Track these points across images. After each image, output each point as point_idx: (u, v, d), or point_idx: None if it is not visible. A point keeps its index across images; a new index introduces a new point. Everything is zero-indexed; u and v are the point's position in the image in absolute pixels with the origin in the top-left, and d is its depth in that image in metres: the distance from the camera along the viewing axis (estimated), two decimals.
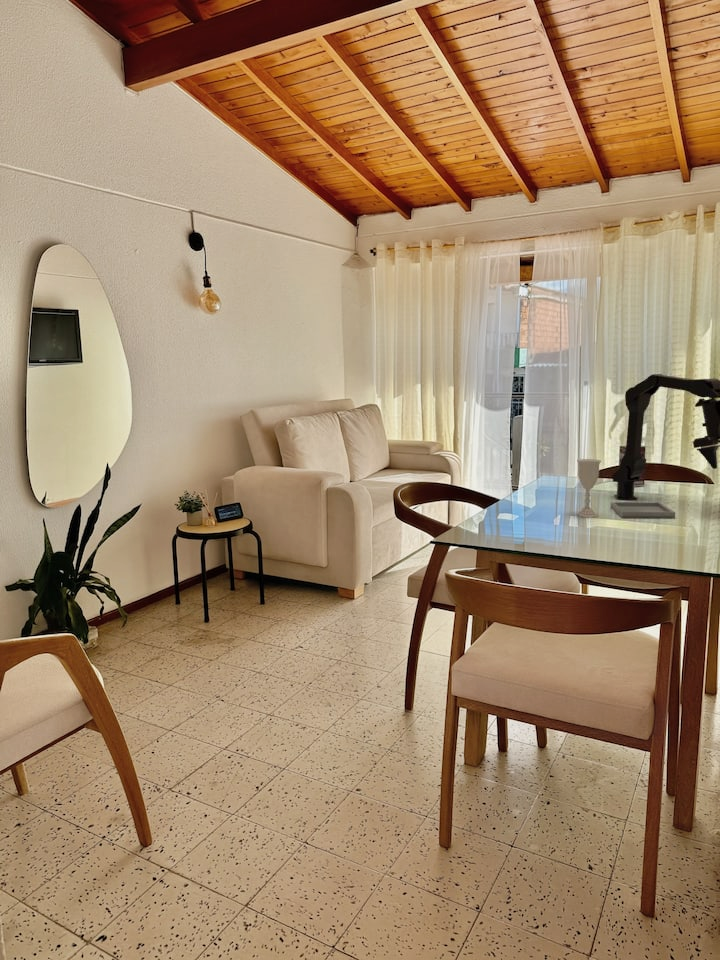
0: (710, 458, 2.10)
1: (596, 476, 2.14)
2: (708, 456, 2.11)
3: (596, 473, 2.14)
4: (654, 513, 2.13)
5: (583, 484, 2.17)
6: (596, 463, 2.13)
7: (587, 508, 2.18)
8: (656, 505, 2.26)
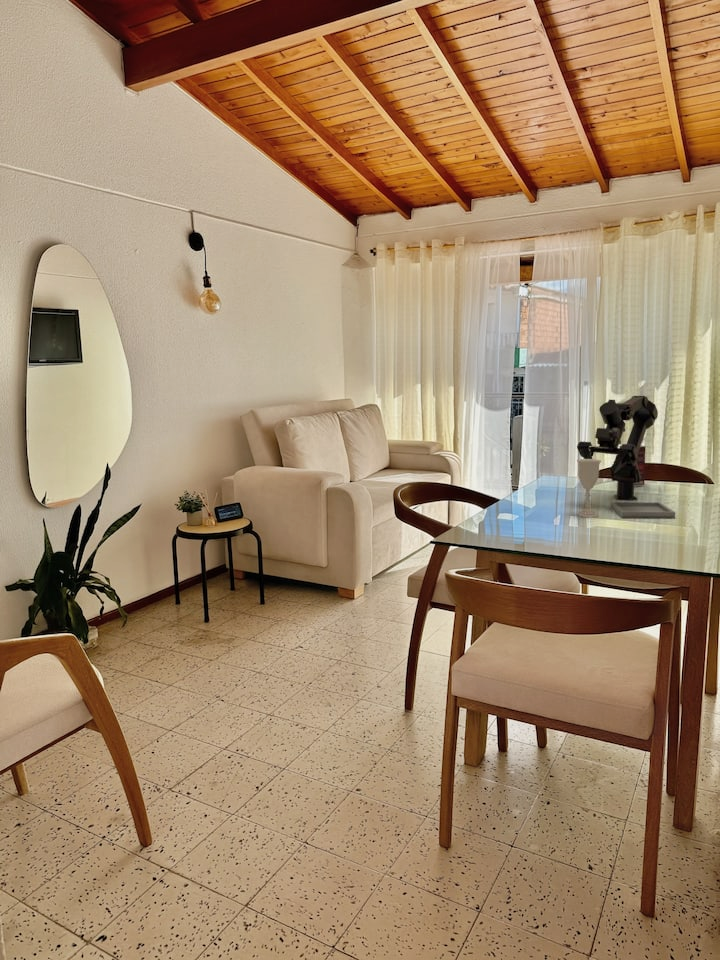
0: None
1: (596, 476, 2.14)
2: None
3: (596, 473, 2.14)
4: (654, 513, 2.13)
5: (583, 484, 2.17)
6: (596, 463, 2.13)
7: (587, 508, 2.18)
8: (656, 505, 2.26)
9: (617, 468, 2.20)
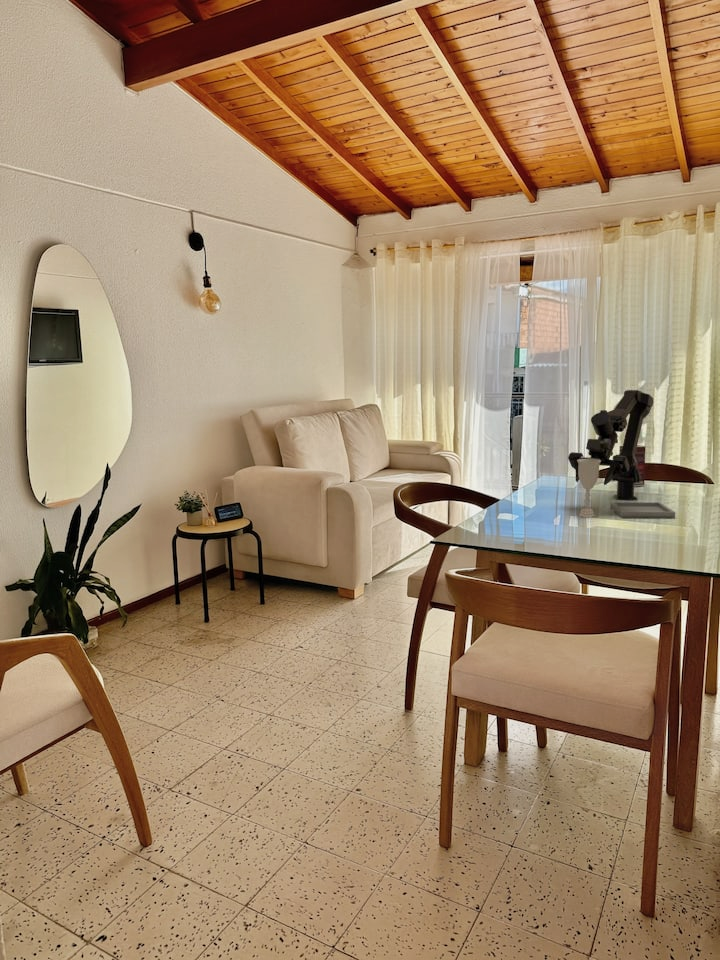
0: None
1: (596, 476, 2.14)
2: None
3: (596, 473, 2.14)
4: (654, 513, 2.13)
5: (583, 484, 2.17)
6: (596, 463, 2.13)
7: (587, 508, 2.18)
8: (656, 505, 2.26)
9: (608, 480, 2.16)
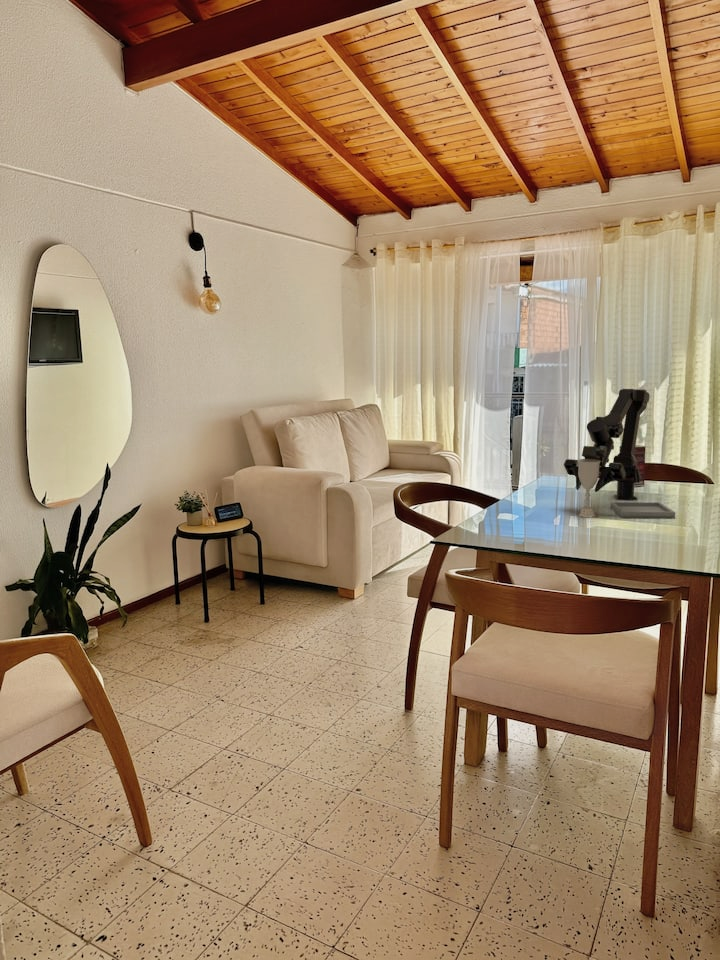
0: None
1: (596, 476, 2.14)
2: None
3: (596, 473, 2.14)
4: (654, 513, 2.13)
5: (583, 484, 2.16)
6: (596, 463, 2.13)
7: (587, 508, 2.18)
8: (656, 505, 2.26)
9: (599, 487, 2.15)
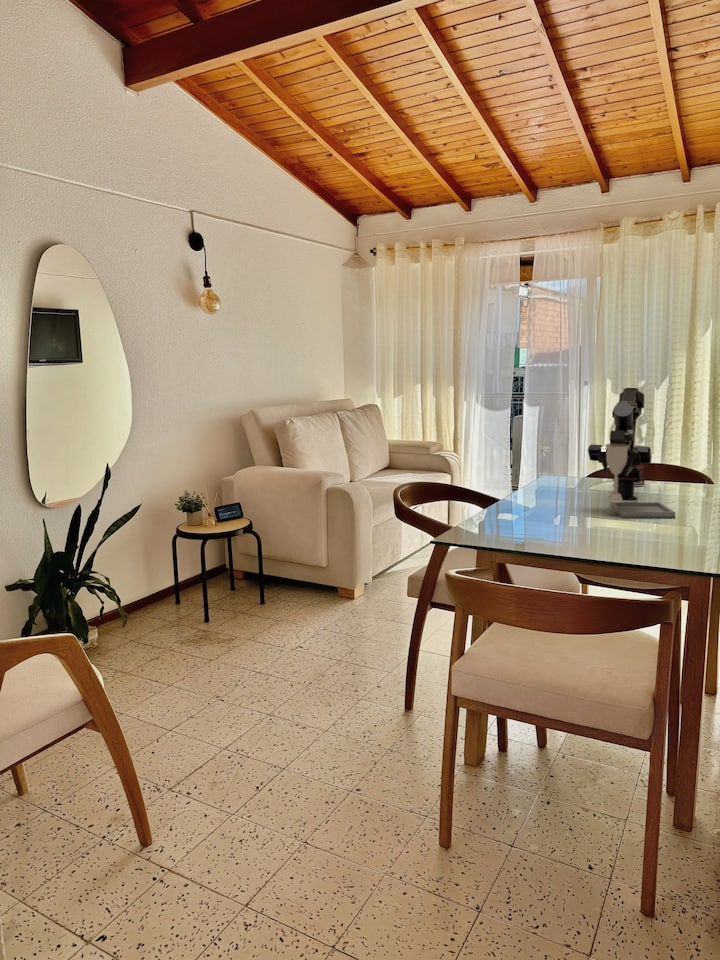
0: None
1: (625, 460, 2.13)
2: None
3: (626, 457, 2.13)
4: (654, 513, 2.13)
5: (612, 469, 2.14)
6: (626, 447, 2.12)
7: (616, 493, 2.16)
8: (656, 505, 2.26)
9: (628, 471, 2.14)
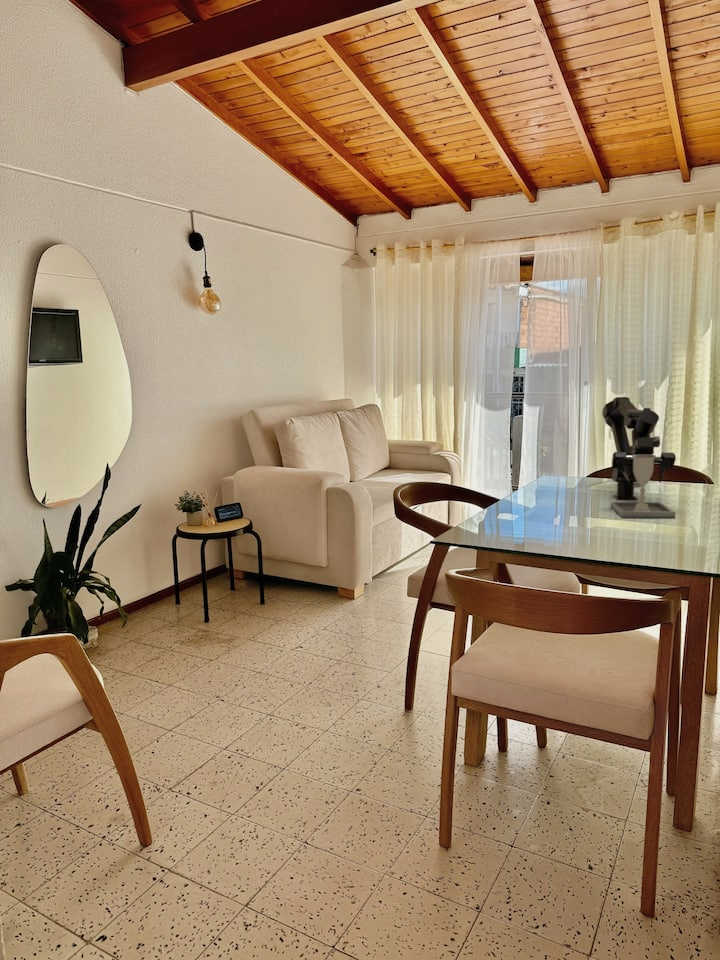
0: (625, 473, 2.20)
1: None
2: (624, 472, 2.21)
3: (653, 467, 2.16)
4: (654, 513, 2.13)
5: (641, 480, 2.17)
6: (654, 458, 2.15)
7: (643, 503, 2.19)
8: (656, 505, 2.26)
9: None
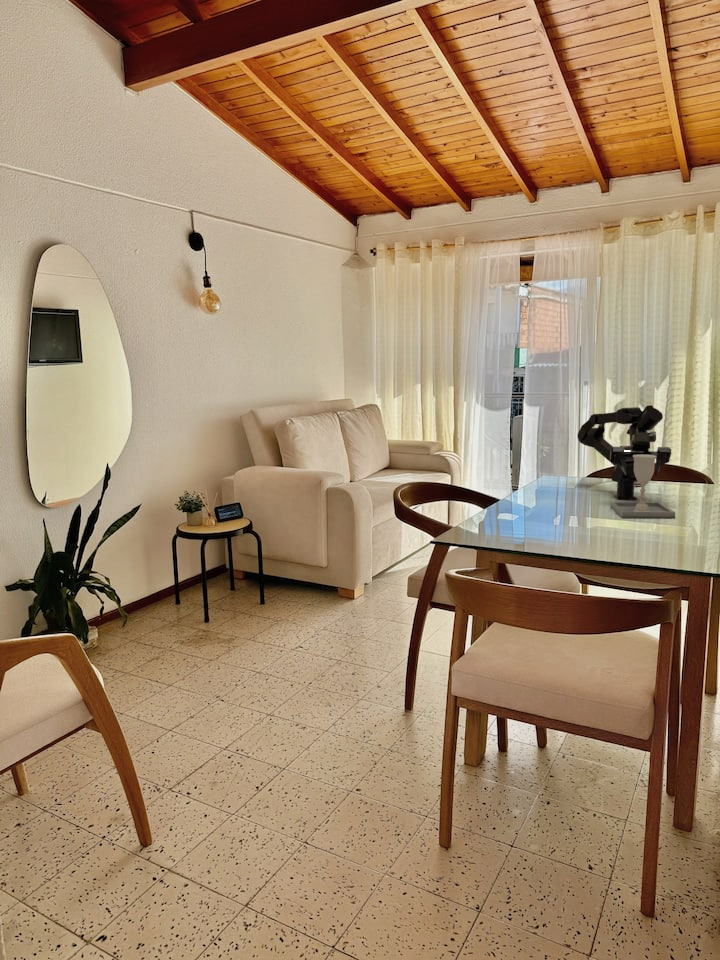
0: (622, 467, 2.28)
1: (653, 471, 2.17)
2: (621, 466, 2.29)
3: None
4: (654, 513, 2.13)
5: (641, 480, 2.17)
6: (655, 458, 2.15)
7: (643, 503, 2.19)
8: (656, 505, 2.26)
9: None
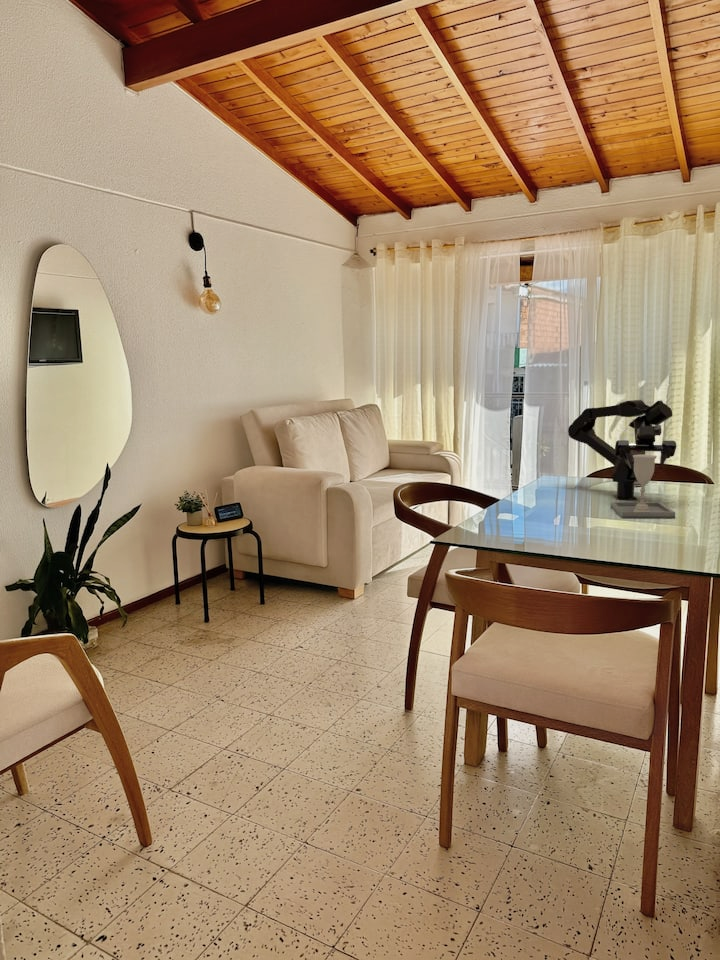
0: (627, 460, 2.28)
1: (653, 471, 2.17)
2: (626, 459, 2.29)
3: None
4: (654, 513, 2.13)
5: (641, 480, 2.17)
6: (655, 458, 2.15)
7: (643, 503, 2.19)
8: (656, 505, 2.26)
9: (663, 464, 2.24)
